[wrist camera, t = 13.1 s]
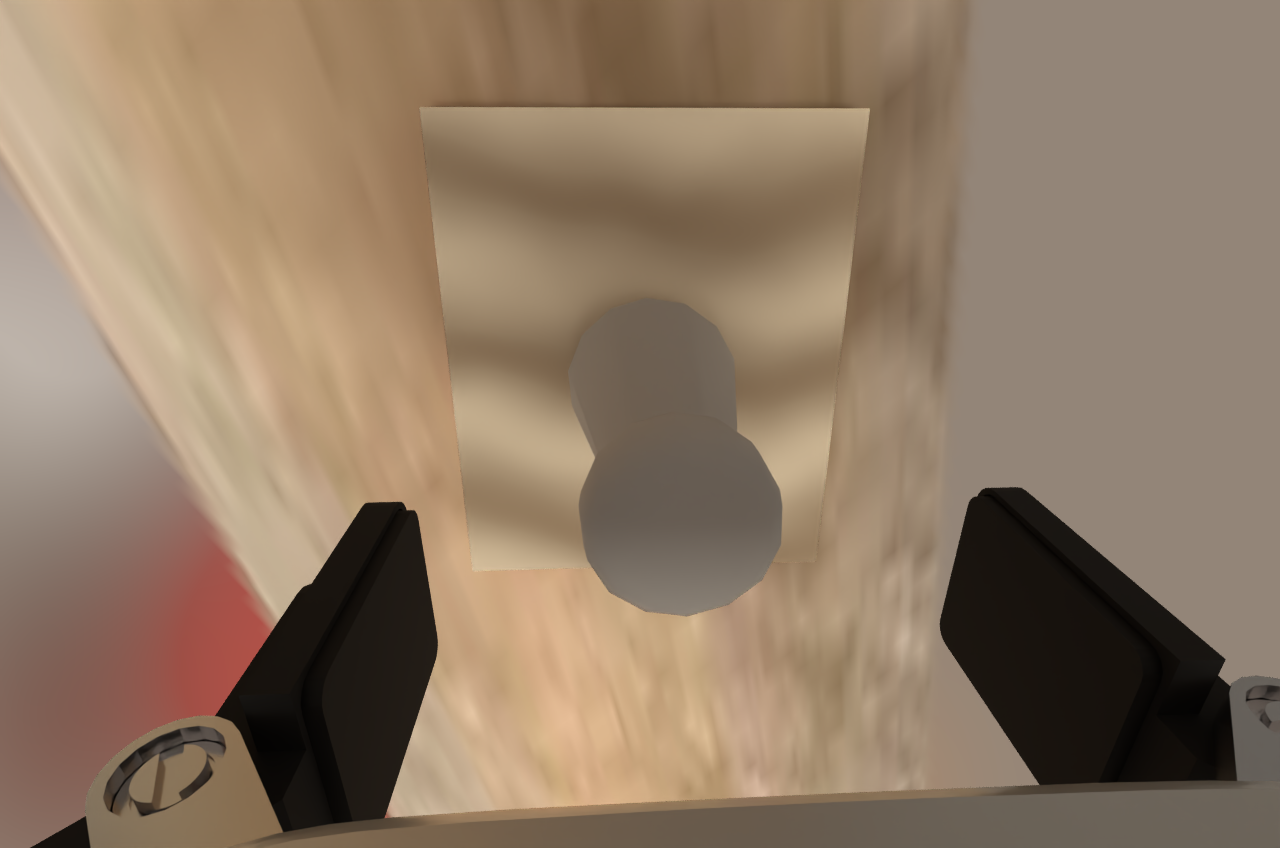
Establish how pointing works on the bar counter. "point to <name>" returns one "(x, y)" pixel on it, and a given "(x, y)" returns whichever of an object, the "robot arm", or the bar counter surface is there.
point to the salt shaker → (669, 463)
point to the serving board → (635, 288)
